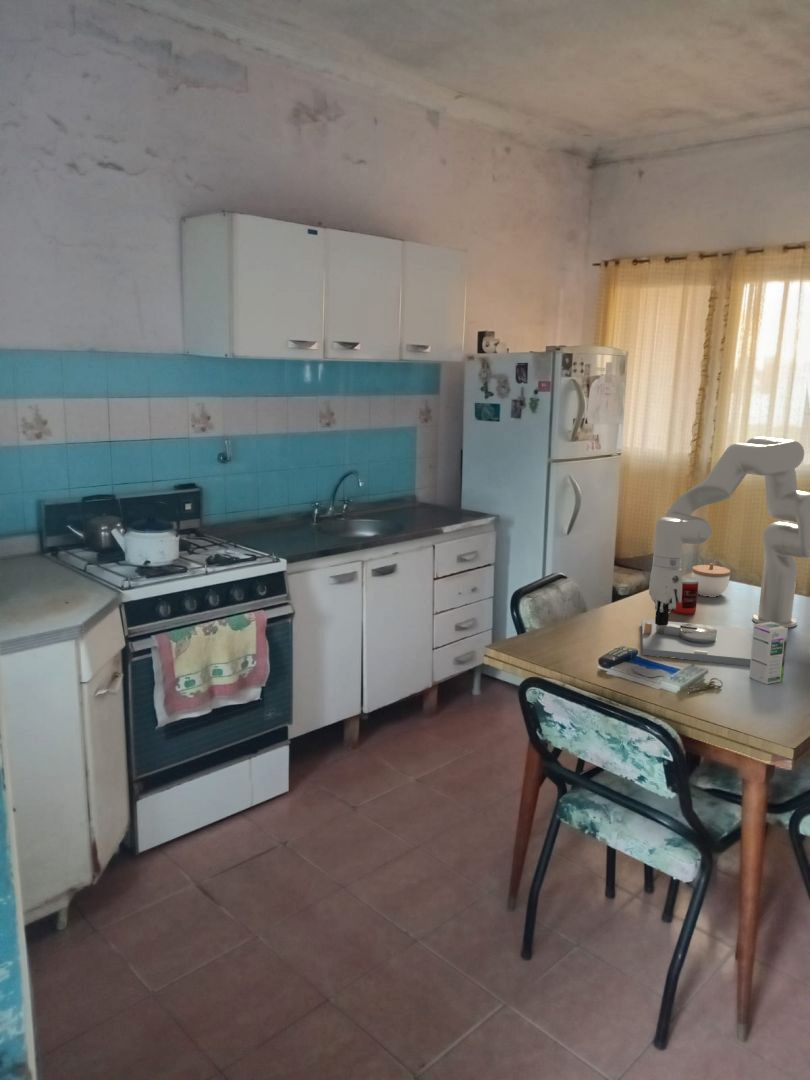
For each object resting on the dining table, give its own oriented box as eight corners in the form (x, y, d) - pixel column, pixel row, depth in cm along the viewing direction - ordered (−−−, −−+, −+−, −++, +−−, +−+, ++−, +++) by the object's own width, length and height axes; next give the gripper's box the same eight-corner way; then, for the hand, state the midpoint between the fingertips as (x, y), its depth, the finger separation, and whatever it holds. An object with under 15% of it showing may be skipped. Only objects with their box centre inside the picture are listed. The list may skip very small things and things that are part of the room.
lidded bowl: (684, 594, 287) (686, 563, 284) (697, 587, 296) (700, 557, 294) (720, 601, 279) (723, 570, 276) (733, 594, 288) (736, 563, 286)
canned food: (674, 606, 272) (677, 574, 269) (698, 611, 267) (701, 578, 265) (666, 612, 266) (669, 579, 263) (691, 616, 261) (694, 583, 259)
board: (641, 625, 252) (642, 609, 251) (746, 634, 244) (748, 618, 243) (642, 655, 225) (643, 638, 224) (760, 667, 218) (762, 649, 217)
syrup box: (766, 685, 205) (772, 629, 202) (747, 677, 211) (753, 622, 208) (783, 681, 208) (789, 627, 205) (764, 673, 213) (770, 620, 210)
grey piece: (717, 634, 237) (719, 609, 235) (714, 645, 228) (716, 619, 226) (658, 626, 243) (660, 602, 242) (653, 636, 235) (655, 611, 233)
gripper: (694, 567, 224) (688, 631, 228) (663, 555, 238) (658, 616, 242) (670, 568, 222) (664, 633, 226) (640, 556, 236) (635, 617, 240)
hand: (661, 624), depth 234 cm, fingers closed
